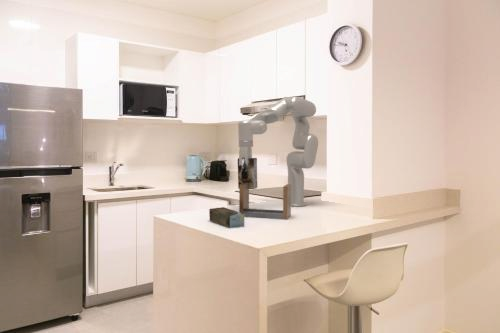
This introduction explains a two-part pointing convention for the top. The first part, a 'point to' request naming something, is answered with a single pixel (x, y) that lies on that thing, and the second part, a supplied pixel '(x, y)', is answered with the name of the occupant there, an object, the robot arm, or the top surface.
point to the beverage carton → (226, 217)
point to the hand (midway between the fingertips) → (246, 177)
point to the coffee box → (249, 174)
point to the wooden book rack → (264, 212)
